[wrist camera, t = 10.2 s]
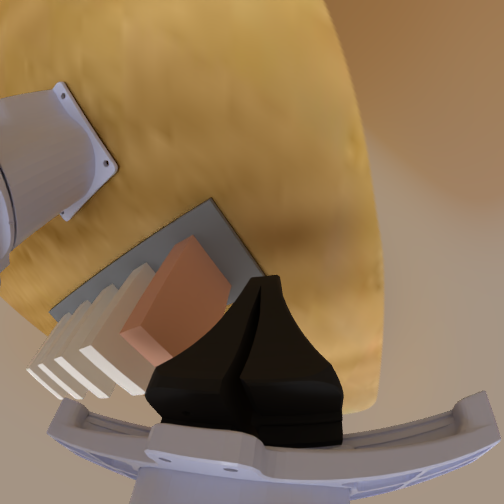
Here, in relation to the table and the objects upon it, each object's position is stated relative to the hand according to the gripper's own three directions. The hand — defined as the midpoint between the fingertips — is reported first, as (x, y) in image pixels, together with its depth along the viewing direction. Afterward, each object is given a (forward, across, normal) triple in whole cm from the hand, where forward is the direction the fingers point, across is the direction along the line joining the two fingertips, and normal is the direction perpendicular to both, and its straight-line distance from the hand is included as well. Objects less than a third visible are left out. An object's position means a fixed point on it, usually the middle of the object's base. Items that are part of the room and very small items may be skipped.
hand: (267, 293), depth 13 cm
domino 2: (+6, +20, +8) cm, 22 cm away
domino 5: (+6, +6, +2) cm, 9 cm away
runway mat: (+7, +15, +6) cm, 17 cm away
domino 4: (+6, +10, +4) cm, 13 cm away
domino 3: (+6, +15, +6) cm, 17 cm away
